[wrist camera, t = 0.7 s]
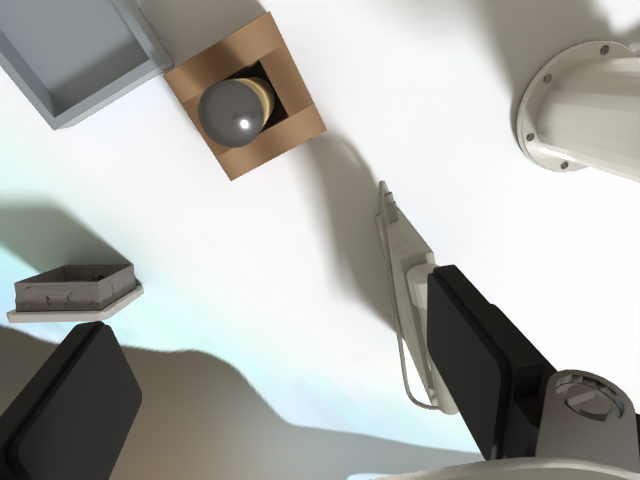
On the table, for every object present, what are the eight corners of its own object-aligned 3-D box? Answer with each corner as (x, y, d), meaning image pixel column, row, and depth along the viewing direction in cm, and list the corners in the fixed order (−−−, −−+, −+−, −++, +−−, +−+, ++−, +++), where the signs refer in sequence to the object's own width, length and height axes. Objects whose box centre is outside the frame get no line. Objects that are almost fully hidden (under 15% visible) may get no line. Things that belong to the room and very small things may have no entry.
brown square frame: (273, 19, 32) (269, 11, 27) (323, 122, 36) (326, 129, 32) (180, 75, 33) (163, 75, 29) (238, 168, 38) (230, 181, 33)
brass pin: (261, 69, 34) (241, 67, 21) (282, 109, 35) (275, 129, 23) (225, 90, 34) (184, 100, 22) (248, 128, 36) (221, 158, 23)
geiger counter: (482, 424, 36) (452, 205, 26) (422, 440, 37) (368, 230, 26) (434, 334, 49) (400, 161, 38) (389, 346, 49) (343, 179, 39)
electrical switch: (67, 292, 43) (8, 338, 34) (57, 252, 41) (-8, 290, 32) (147, 291, 43) (109, 336, 35) (140, 251, 42) (99, 288, 33)
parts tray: (81, -86, 28) (58, -103, 25) (174, 64, 33) (163, 63, 30) (-32, -6, 30) (-65, -14, 27) (72, 126, 35) (53, 130, 32)
